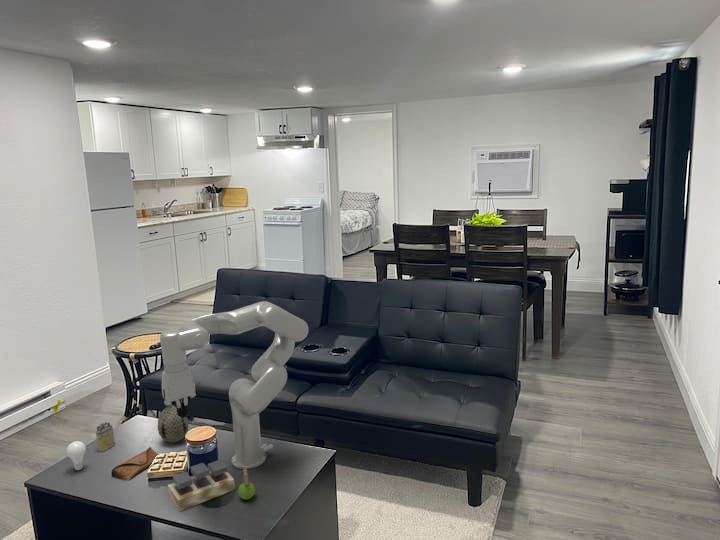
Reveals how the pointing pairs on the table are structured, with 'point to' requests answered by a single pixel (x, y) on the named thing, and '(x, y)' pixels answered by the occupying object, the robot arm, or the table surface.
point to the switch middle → (200, 470)
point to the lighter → (105, 436)
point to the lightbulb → (76, 453)
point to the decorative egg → (172, 425)
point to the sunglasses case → (134, 465)
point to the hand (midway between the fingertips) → (182, 416)
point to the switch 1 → (182, 480)
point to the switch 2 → (217, 468)
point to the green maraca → (246, 487)
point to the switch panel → (201, 490)
